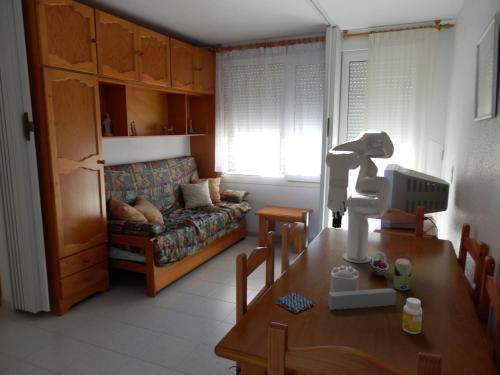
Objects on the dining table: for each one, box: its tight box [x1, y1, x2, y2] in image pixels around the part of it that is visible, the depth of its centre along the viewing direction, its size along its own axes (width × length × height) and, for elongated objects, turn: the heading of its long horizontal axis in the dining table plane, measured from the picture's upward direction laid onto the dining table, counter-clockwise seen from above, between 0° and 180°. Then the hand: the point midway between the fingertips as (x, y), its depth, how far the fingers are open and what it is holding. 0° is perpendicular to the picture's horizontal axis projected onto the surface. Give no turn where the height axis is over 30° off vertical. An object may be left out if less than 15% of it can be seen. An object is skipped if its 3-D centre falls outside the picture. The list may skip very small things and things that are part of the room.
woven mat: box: [275, 292, 316, 313], centre depth 131 cm, size 10×11×2 cm
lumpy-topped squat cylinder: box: [329, 265, 360, 292], centre depth 143 cm, size 10×13×9 cm
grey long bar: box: [327, 287, 397, 311], centre depth 130 cm, size 3×24×5 cm, turn 100°
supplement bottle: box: [401, 297, 423, 335], centre depth 114 cm, size 5×5×10 cm
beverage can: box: [393, 258, 412, 292], centre depth 143 cm, size 6×7×12 cm
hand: (336, 227), depth 151 cm, fingers closed
